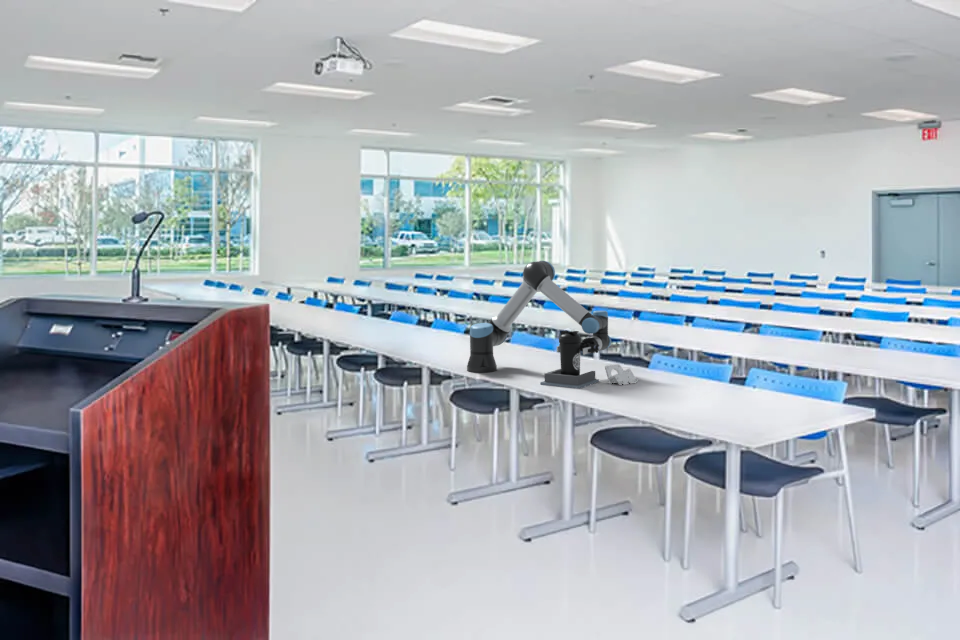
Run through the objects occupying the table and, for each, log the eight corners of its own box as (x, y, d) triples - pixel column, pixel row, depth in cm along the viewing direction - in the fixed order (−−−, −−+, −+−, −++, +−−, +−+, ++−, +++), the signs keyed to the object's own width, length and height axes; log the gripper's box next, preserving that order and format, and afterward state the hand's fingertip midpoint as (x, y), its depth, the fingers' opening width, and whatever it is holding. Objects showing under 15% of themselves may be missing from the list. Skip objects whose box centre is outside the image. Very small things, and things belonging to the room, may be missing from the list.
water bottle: (574, 383, 362) (573, 332, 360) (555, 381, 368) (554, 331, 366) (585, 379, 370) (585, 330, 368) (566, 378, 376) (565, 329, 374)
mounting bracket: (630, 385, 371) (624, 363, 374) (639, 382, 366) (632, 359, 368) (610, 388, 365) (604, 366, 367) (619, 385, 359) (612, 362, 362)
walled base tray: (540, 384, 366) (540, 373, 366) (561, 377, 383) (561, 367, 382) (579, 388, 355) (579, 377, 355) (599, 381, 372) (599, 371, 371)
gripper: (615, 354, 378) (594, 360, 361) (568, 350, 392) (546, 356, 375) (615, 338, 377) (595, 344, 360) (568, 335, 391) (546, 340, 374)
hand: (570, 350), depth 367 cm, fingers open, 13 cm apart
